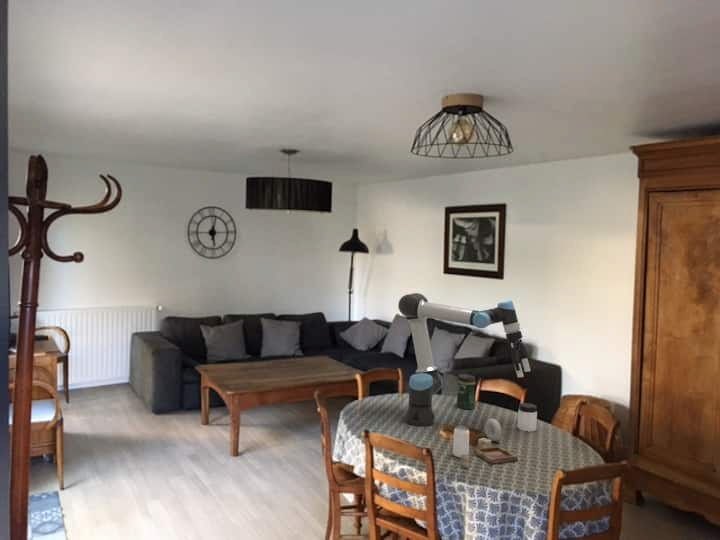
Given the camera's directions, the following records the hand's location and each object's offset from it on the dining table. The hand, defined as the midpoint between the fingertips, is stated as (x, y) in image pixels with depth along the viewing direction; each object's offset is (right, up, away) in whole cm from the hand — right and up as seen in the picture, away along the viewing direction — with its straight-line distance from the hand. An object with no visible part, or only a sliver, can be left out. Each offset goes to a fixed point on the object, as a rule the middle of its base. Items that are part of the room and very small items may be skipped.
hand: (524, 374), depth 276 cm
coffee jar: (-22, -26, +38) cm, 51 cm away
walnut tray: (-23, -28, -38) cm, 53 cm away
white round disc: (-19, -28, -16) cm, 38 cm away
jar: (+2, -28, +3) cm, 28 cm away
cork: (-38, -28, -49) cm, 68 cm away
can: (-38, -28, -37) cm, 60 cm away
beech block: (-26, -28, -27) cm, 47 cm away
